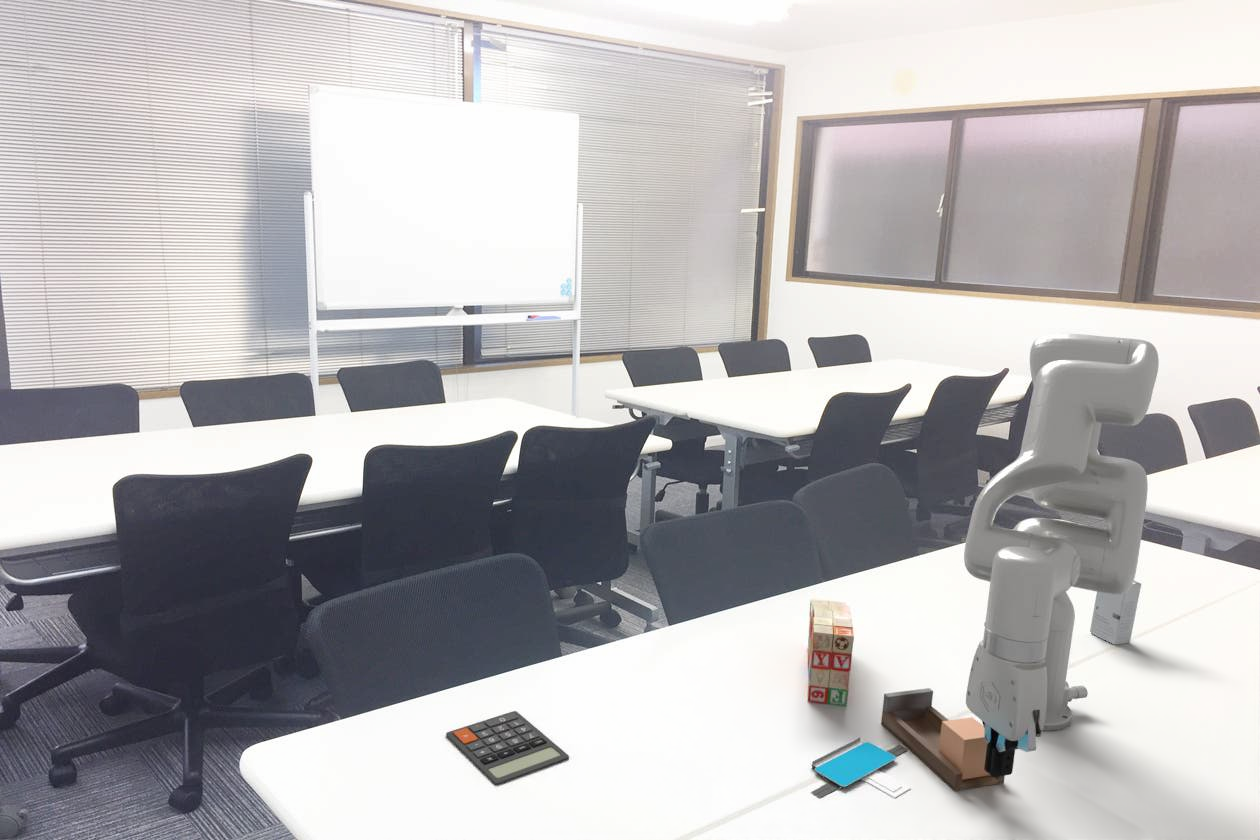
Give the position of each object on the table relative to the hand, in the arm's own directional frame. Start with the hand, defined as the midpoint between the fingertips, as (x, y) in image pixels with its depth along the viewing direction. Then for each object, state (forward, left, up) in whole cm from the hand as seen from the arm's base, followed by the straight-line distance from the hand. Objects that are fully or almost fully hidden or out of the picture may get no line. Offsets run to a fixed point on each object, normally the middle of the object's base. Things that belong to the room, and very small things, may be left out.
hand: (997, 772), depth 123 cm
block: (0, -6, -4) cm, 8 cm away
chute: (0, -12, -4) cm, 13 cm away
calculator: (+61, -28, -5) cm, 67 cm away
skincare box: (-57, -39, -4) cm, 70 cm away
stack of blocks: (+4, -38, -4) cm, 38 cm away
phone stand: (+14, -10, -5) cm, 17 cm away
